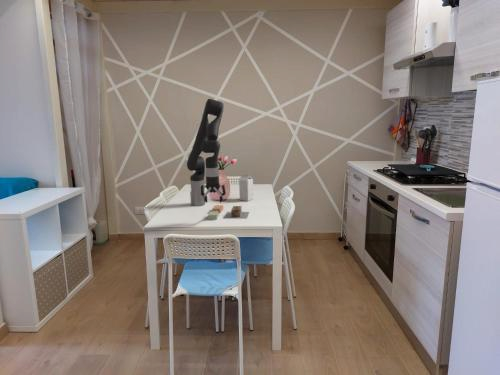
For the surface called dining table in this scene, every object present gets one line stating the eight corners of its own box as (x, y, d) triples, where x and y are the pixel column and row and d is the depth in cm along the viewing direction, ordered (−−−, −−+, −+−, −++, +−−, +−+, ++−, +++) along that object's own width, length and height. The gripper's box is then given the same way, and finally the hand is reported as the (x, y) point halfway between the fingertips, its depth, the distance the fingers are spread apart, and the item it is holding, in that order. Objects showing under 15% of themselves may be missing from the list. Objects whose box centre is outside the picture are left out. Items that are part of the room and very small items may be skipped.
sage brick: (208, 222, 212) (208, 215, 211) (210, 218, 220) (210, 211, 219) (216, 222, 212) (216, 215, 211) (218, 218, 219) (218, 211, 218)
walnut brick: (231, 216, 216) (231, 209, 215) (233, 213, 224) (233, 206, 223) (239, 216, 216) (239, 209, 215) (241, 213, 223) (241, 206, 222)
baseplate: (223, 220, 214) (223, 218, 214) (227, 214, 228) (227, 211, 227) (246, 221, 213) (246, 218, 212) (249, 214, 226) (249, 211, 226)
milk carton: (248, 201, 258) (247, 175, 254) (239, 200, 262) (238, 174, 258) (253, 199, 264) (252, 173, 260) (245, 198, 268) (244, 172, 264)
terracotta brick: (212, 215, 226) (212, 208, 225) (215, 211, 234) (215, 205, 233) (220, 215, 225) (220, 208, 224) (223, 212, 233) (223, 205, 232)
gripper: (198, 176, 207) (200, 204, 210) (223, 176, 206) (224, 203, 209) (201, 174, 214) (203, 200, 218) (225, 173, 213) (226, 200, 216)
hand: (213, 202), depth 213 cm, fingers open, 8 cm apart
